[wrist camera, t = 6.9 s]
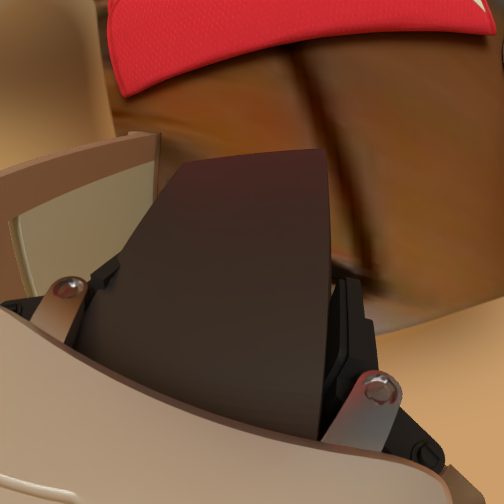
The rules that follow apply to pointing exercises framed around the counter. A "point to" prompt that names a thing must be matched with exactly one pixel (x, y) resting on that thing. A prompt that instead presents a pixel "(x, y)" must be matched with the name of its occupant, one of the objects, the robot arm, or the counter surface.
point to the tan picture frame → (73, 210)
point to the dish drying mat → (259, 29)
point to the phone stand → (226, 292)
